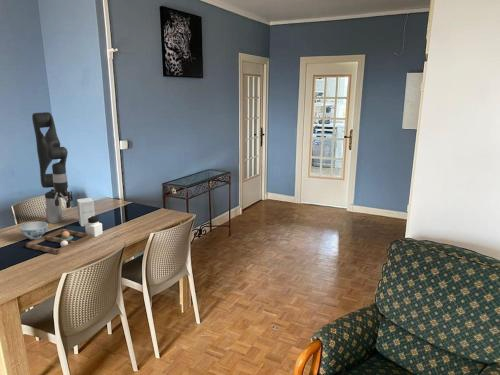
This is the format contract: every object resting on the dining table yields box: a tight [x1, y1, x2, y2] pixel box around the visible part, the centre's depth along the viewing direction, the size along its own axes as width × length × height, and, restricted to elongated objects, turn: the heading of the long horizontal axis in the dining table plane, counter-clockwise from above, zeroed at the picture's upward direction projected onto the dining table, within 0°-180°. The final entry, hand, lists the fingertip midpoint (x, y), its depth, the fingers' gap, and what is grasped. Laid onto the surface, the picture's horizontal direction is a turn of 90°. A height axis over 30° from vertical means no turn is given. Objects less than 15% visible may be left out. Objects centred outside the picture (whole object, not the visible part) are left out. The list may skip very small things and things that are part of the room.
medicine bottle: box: [84, 215, 104, 238], centre depth 235 cm, size 7×7×12 cm
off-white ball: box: [59, 240, 68, 248], centre depth 217 cm, size 4×4×4 cm
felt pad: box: [59, 235, 74, 241], centre depth 230 cm, size 8×8×1 cm
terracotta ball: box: [61, 231, 71, 238], centre depth 229 cm, size 4×4×4 cm
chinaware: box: [19, 220, 49, 240], centre depth 229 cm, size 15×15×8 cm
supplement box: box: [76, 197, 96, 227], centre depth 254 cm, size 10×9×17 cm
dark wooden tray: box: [24, 228, 93, 255], centre depth 223 cm, size 24×26×2 cm
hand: (62, 206), depth 226 cm, fingers open, 8 cm apart
